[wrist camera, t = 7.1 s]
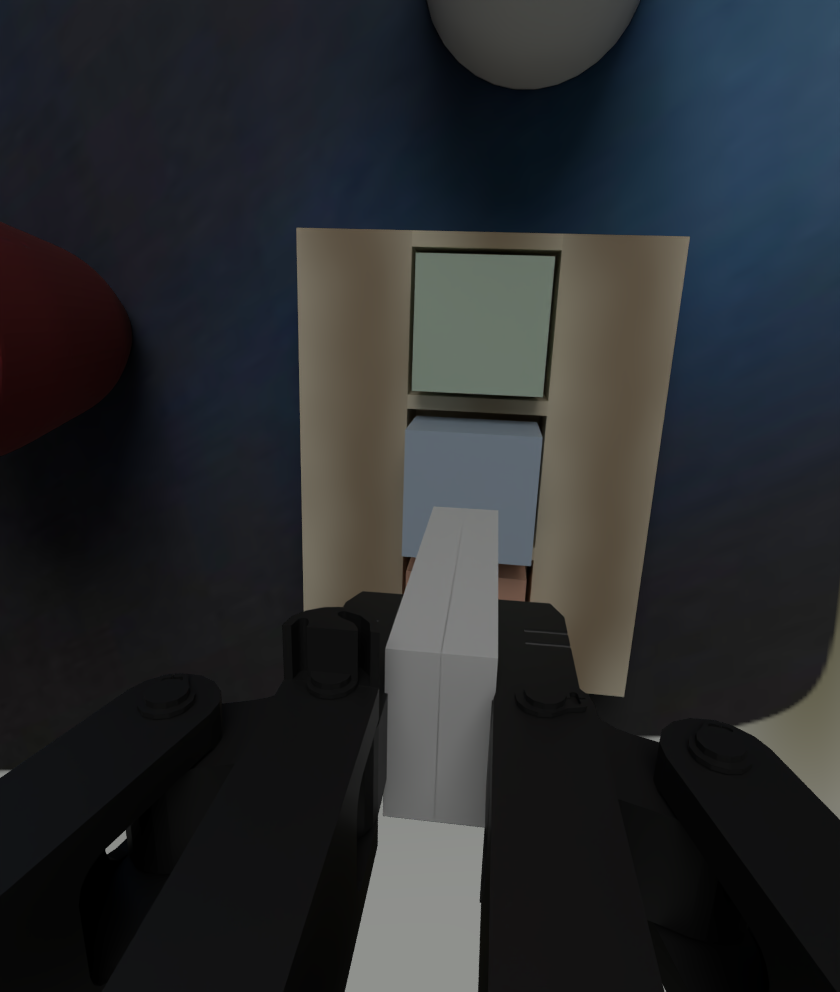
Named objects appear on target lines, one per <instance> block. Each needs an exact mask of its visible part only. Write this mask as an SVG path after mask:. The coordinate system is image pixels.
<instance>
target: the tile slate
mask: <svg viewBox="0 0 840 992" xmlns="http://www.w3.org/2000/svg"><path fill="white" fill-rule="evenodd" d="M542 439H543V437H542V434H541V432H540V429H539V426H538V423H537V422H529V421H510V420H491V419H472V418H453V417H434V416H416V417H415V418H414V419H413V421H412V422H411V423H410V424H409V426H408V427H407V428H406V429H405V456H404V492H403V528H402V556H404V557H417V554H418V551H419V548H420V545H421V542H422V539H423V536H424V533H425V530H426V527H427V524H428V521H429V519H430V516H431V513H432V510H433V507H434V506H435V507H451V508H468V509H484V510H498V564H509V565H522V566H531V561H532V550H533V539H534V528H535V517H536V506H537V494H538V483H539V472H540V461H541V450H542Z"/></svg>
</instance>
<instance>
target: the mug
mask: <svg viewBox="0 0 840 992" xmlns="http://www.w3.org/2000/svg"><path fill="white" fill-rule="evenodd" d="M131 346H132V328H131V323H130V320H129V317H128V314H127V312H126V310H125V308H124V307H123V305H122V303H121V302H120V300H119V299H118V297H117V296H116V294H115V293H114V292H113V290H112V289H111V288H110V286H109V285H108V284H107V283H106V282H105V280H104V279H103V278H102V277H101V276H100V275H99V274H98V273H97V272H96V271H95V270H94V269H93V268H91V267H90V266H89V265H88V264H87V263H85V262H84V261H82V260H81V259H79V258H78V257H76V256H75V255H73V254H71V253H70V252H68V251H66V250H64V249H62V248H60V247H58V246H55V245H53V244H51V243H49V242H46V241H44V240H42V239H39V238H37V237H35V236H32V235H30V234H28V233H25V232H23V231H21V230H18V229H16V228H14V227H11V226H9V225H7V224H4V223H2V222H0V456H2V455H5V454H7V453H10V452H12V451H14V450H17V449H19V448H21V447H23V446H25V445H27V444H29V443H30V442H32V441H34V440H36V439H38V438H39V437H41V436H43V435H45V434H46V433H48V432H50V431H52V430H53V429H55V428H57V427H59V426H61V425H62V424H64V423H66V422H68V421H69V420H71V419H73V418H75V417H76V416H78V415H80V414H82V413H84V412H85V411H87V410H89V409H90V408H92V407H93V406H95V405H96V404H97V403H99V402H100V401H101V400H102V399H103V398H104V397H105V396H106V395H108V394H109V392H110V391H111V390H112V389H113V387H114V386H115V385H116V383H117V382H118V380H119V378H120V376H121V374H122V372H123V370H124V368H125V366H126V363H127V360H128V357H129V354H130V351H131Z"/></svg>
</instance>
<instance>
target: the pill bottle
mask: <svg viewBox="0 0 840 992" xmlns="http://www.w3.org/2000/svg"><path fill="white" fill-rule="evenodd" d="M640 1H641V0H426V3H427V6H428V9H429V13H430V16H431V19H432V22H433V25H434V27H435V29H436V30H437V32H438V34H439V36H440V38H441V40H442V42H443V43H444V45H445V46H446V48H447V49H448V50H449V51H450V52H451V54H452V55H453V56H454V57H455V59H456V60H457V61H458V62H459V63H460V64H461V65H463V66H464V67H465V68H467V69H468V70H469V71H470V72H472V73H473V74H474V75H475V76H477V77H479V78H482V79H484V80H486V81H488V82H490V83H492V84H494V85H498V86H502V87H506V88H511V89H540V88H545V87H550V86H554V85H558V84H560V83H563V82H565V81H567V80H569V79H572V78H574V77H576V76H578V75H580V74H581V73H583V72H584V71H585V70H587V69H588V68H590V67H591V66H593V65H594V64H595V63H597V62H598V61H599V60H600V59H601V58H602V57H603V56H604V55H605V54H606V53H607V52H608V51H609V50H610V49H611V48H612V47H613V46H614V45H615V44H616V42H617V41H618V40H619V38H620V37H621V35H622V34H623V32H624V31H625V29H626V28H627V27H628V25H629V24H630V22H631V20H632V18H633V16H634V14H635V12H636V10H637V8H638V5H639V3H640Z"/></svg>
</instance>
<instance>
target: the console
mask: <svg viewBox="0 0 840 992" xmlns="http://www.w3.org/2000/svg"><path fill="white" fill-rule="evenodd" d="M689 239H690V237H683V236H638V235H594V234H550V233H505V232H461V231H417V230H372V229H328V228H297V280H298V332H299V385H300V437H301V489H302V541H303V594H304V611H306V610H311V609H316V608H322V607H343V606H344V604H345V602H347V601H348V600H350V599H351V598H353V597H354V596H356V595H357V594H359V593H361V592H362V591H367V592H380V593H394V594H404V592H405V589H406V570H407V567H408V564H409V561H410V559H411V557H404V556H402V528H403V492H404V456H405V429H406V428H407V427H408V426H409V424H410V423H411V422H412V421H413V419H414V418H415V417H416V416H434V417H453V418H472V419H491V420H510V421H529V422H537V423H538V426H539V429H540V432H541V434H542V437H543V439H542V450H541V461H540V472H539V483H538V494H537V506H536V517H535V528H534V539H533V550H532V561H531V566H525V570H526V579H527V581H526V593H525V602H539V603H550V604H551V605H552V606H553V607H554V608H555V609H556V610H558V611H559V612H560V613H561V614H562V615H563V616H564V618H565V623H566V627H567V632H568V633H567V635H568V636H569V641H570V648H571V650H572V655H573V660H574V664H575V669H576V673H577V678H578V683H579V687H580V689H581V690H582V691H584V692H585V693H589V694H600V695H610V696H621V697H624V693H625V686H626V679H627V672H628V665H629V658H630V651H631V644H632V637H633V630H634V623H635V616H636V609H637V602H638V595H639V588H640V581H641V574H642V567H643V560H644V553H645V546H646V539H647V532H648V525H649V518H650V511H651V504H652V497H653V491H654V484H655V477H656V470H657V463H658V456H659V449H660V442H661V435H662V428H663V421H664V414H665V407H666V400H667V393H668V386H669V379H670V372H671V365H672V358H673V351H674V344H675V337H676V330H677V323H678V316H679V309H680V302H681V295H682V288H683V281H684V274H685V267H686V260H687V253H688V246H689ZM416 253H449V254H487V255H525V256H555V264H554V276H553V287H552V298H551V310H550V321H549V332H548V344H547V355H546V366H545V378H544V389H543V397H528V396H508V395H487V394H467V393H446V392H426V391H412V363H413V330H414V297H415V264H416Z"/></svg>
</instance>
